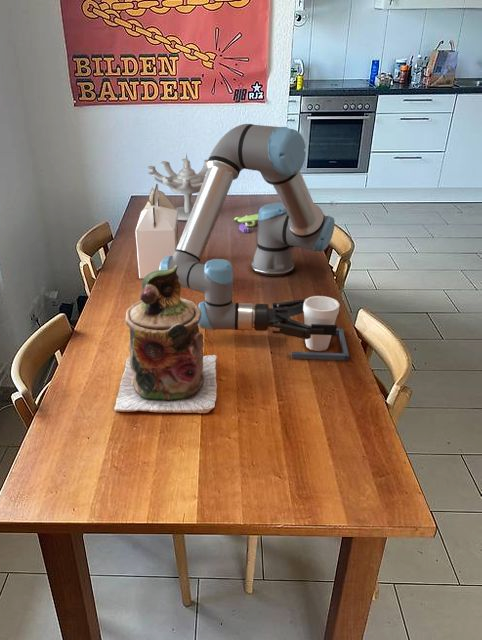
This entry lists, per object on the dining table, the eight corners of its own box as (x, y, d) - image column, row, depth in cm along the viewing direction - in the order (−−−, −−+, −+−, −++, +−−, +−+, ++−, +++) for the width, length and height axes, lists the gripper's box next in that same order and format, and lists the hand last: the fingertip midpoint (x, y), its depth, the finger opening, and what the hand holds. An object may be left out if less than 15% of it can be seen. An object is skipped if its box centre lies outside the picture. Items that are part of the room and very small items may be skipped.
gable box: (145, 255, 222) (139, 181, 207) (179, 255, 222) (176, 180, 207) (139, 279, 204) (132, 199, 188) (176, 278, 203) (173, 198, 188)
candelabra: (157, 203, 279) (154, 143, 264) (230, 205, 275) (230, 144, 260) (142, 226, 251) (137, 161, 236) (222, 229, 246) (222, 162, 232)
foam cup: (297, 338, 166) (300, 296, 159) (328, 336, 167) (333, 295, 160) (304, 354, 159) (308, 312, 151) (338, 353, 159) (343, 310, 152)
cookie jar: (127, 360, 158) (115, 248, 140) (217, 361, 157) (217, 247, 139) (112, 415, 137) (96, 291, 119) (216, 416, 136) (216, 290, 119)
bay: (291, 358, 157) (291, 353, 156) (289, 331, 170) (289, 326, 169) (348, 360, 156) (349, 355, 155) (342, 332, 169) (342, 328, 168)
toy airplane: (293, 236, 237) (294, 223, 234) (228, 233, 242) (229, 220, 239) (296, 222, 252) (297, 209, 249) (236, 219, 257) (236, 206, 254)
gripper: (254, 309, 172) (328, 311, 170) (252, 350, 152) (336, 353, 150) (255, 286, 168) (331, 288, 166) (253, 325, 148) (340, 327, 146)
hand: (333, 319), depth 158 cm, fingers open, 12 cm apart
